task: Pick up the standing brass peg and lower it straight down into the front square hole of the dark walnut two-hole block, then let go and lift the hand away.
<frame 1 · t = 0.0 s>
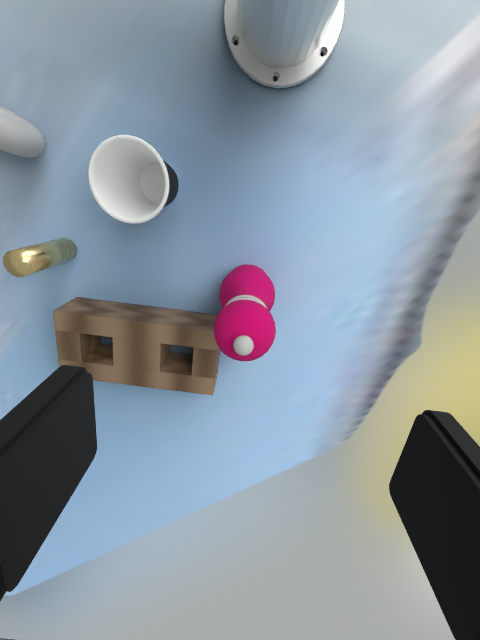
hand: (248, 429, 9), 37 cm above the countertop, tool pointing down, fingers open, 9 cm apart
donut: (25, 132, 40), on the countertop
pepper mill: (247, 285, 46), on the countertop
hole block: (149, 336, 49), on the countertop
dixie cup: (160, 184, 41), on the countertop
brass peg: (66, 249, 45), on the countertop
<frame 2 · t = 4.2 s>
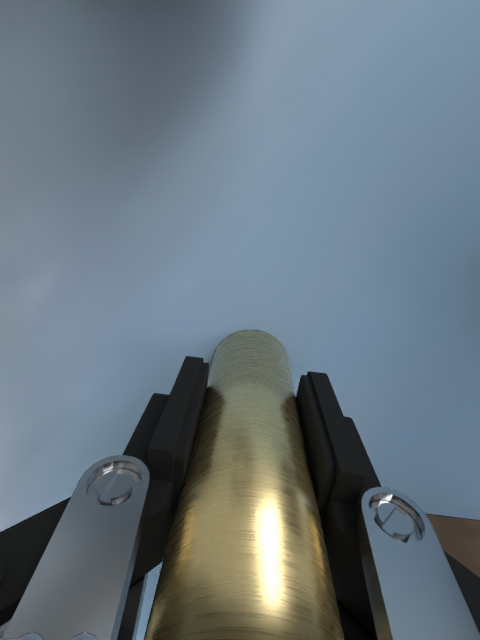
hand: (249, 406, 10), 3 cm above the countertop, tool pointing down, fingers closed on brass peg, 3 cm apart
hole block: (440, 583, 17), on the countertop
brass peg: (250, 364, 13), on the countertop, touching gripper
when the fingers open (7 cm above the countertop, at t = 9.3 s): brass peg drops 4 cm, resting in hole block.
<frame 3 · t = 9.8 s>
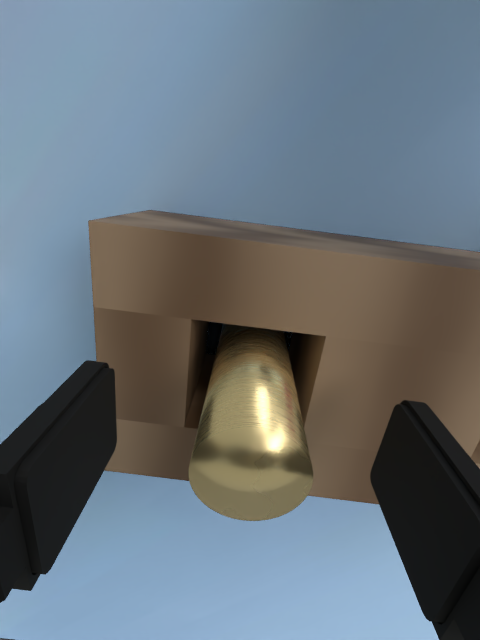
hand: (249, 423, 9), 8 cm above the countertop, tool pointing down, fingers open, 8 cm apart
hole block: (353, 334, 17), on the countertop
brass peg: (252, 321, 17), resting in hole block
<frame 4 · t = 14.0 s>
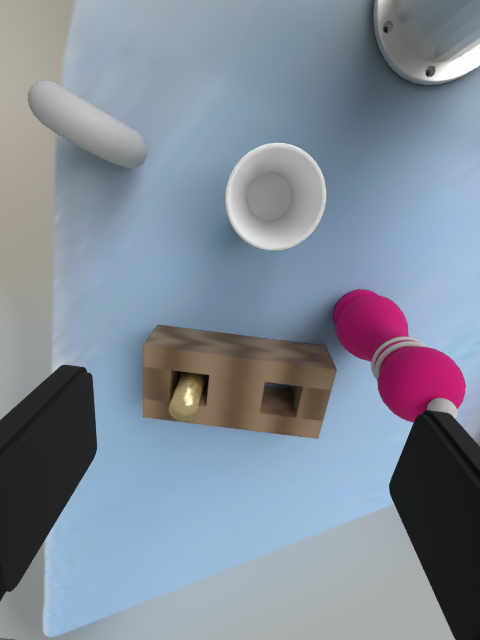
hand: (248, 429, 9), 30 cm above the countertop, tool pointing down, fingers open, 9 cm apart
donut: (115, 137, 34), on the countertop
pepper mill: (357, 312, 40), on the countertop
hole block: (237, 368, 43), on the countertop
dixie cup: (269, 197, 35), on the countertop
brass peg: (197, 363, 43), resting in hole block
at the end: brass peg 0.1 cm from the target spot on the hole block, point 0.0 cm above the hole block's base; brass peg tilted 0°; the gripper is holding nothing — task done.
